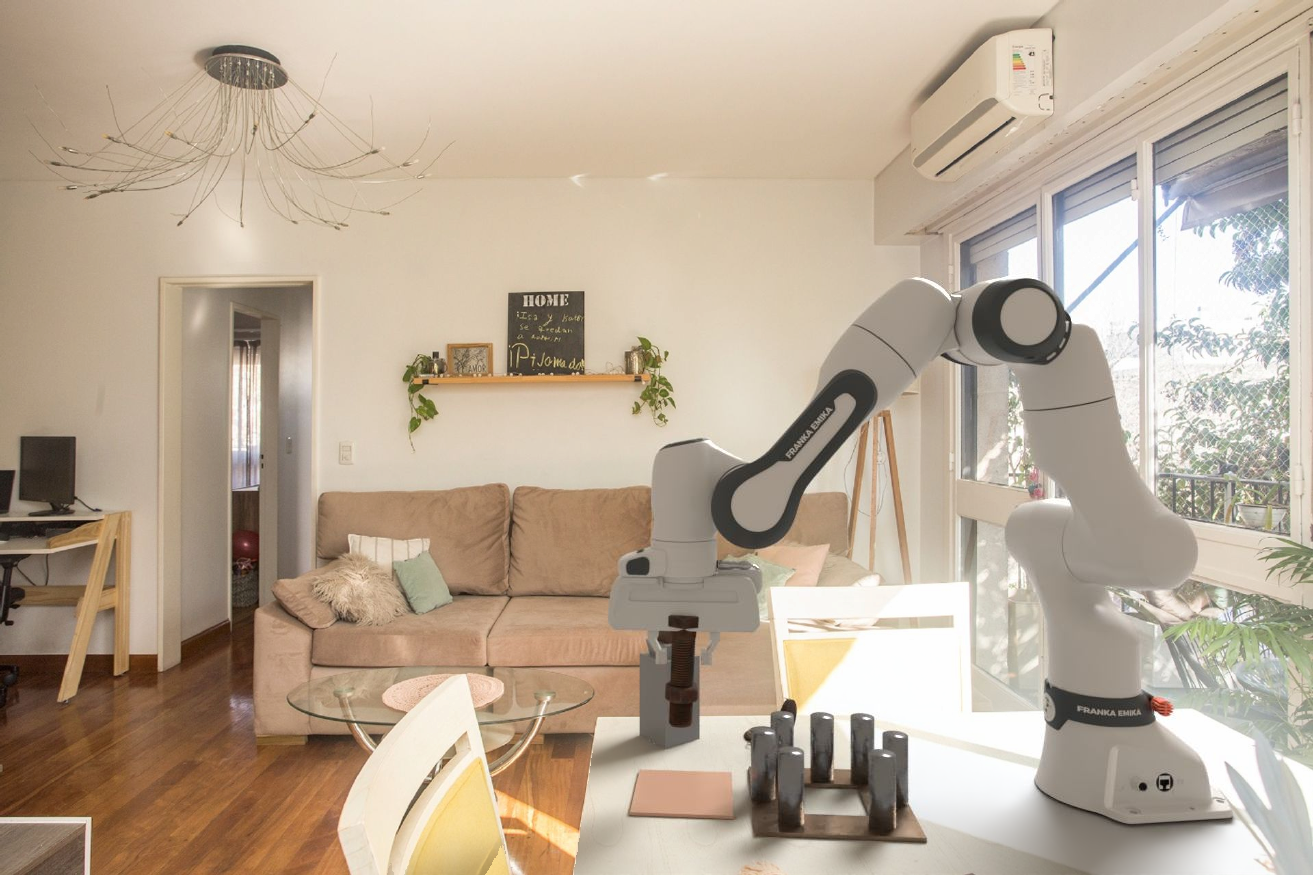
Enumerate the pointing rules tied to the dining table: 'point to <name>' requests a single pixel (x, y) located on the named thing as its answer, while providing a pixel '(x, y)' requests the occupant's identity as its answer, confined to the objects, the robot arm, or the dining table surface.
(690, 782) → the pad
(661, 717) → the perfume bottle
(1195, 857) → the dining table surface
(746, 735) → the compass
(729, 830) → the dining table surface
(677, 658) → the bolt
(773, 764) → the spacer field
